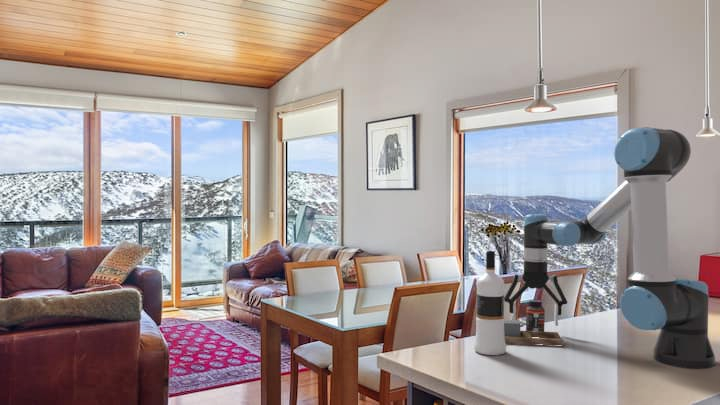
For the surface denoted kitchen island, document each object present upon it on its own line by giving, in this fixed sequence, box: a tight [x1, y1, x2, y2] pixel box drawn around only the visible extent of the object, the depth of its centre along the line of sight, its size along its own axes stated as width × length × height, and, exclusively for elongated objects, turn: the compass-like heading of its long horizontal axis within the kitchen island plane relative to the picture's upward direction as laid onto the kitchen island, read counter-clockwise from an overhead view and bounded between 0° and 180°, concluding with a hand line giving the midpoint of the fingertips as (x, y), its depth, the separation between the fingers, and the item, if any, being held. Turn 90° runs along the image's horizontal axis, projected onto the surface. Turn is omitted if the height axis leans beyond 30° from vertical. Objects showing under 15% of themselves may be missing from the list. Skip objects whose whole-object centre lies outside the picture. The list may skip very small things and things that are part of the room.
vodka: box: [473, 250, 507, 357], centre depth 171 cm, size 9×9×30 cm
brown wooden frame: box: [505, 330, 563, 346], centre depth 184 cm, size 20×10×2 cm, turn 79°
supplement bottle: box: [525, 299, 546, 332], centre depth 193 cm, size 6×6×11 cm
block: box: [504, 319, 521, 337], centre depth 185 cm, size 5×5×6 cm
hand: (534, 324), depth 193 cm, fingers open, 13 cm apart
